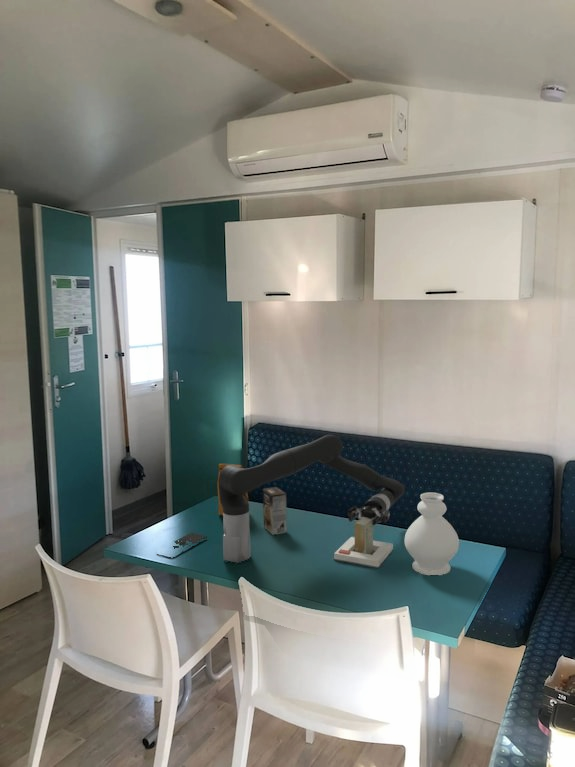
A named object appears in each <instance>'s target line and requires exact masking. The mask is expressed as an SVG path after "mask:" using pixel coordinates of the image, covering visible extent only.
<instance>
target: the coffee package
mask: <svg viewBox="0 0 575 767" xmlns="http://www.w3.org/2000/svg"><path fill="white" fill-rule="evenodd" d="M227 465H235V466H238V467H240V468H243V469H244V466H243V465H241V464H233V463H219V464H218V477H217V482H216V485H217V486H216V487H217V501H218V515H219V516H223V508H222V505H221V502H220V494H219V475H220V472H221V470H222V469H223V468H224V467H225V466H227ZM248 494H249V492H248V493H245V494H243V495H244V497H245V499H246V500H247V501H248V502H249V496H248Z"/></svg>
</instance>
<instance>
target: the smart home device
mask: <svg viewBox="0 0 575 767" xmlns="http://www.w3.org/2000/svg"><path fill="white" fill-rule="evenodd" d="M206 537H207V538H208V536H207V535H203V534H199V533H196V532H191V533H188V534H186V535H184V536H181V537H180V538H179V539H176V540H174V541H173V542H175V543H176V544H179V545H180V546H181V545H182V546H183V547H184V546H185V545H188V543H187V542H186V541H189V542H192V544H194V543H197V541H200V540H202V539H205V538H206ZM190 538H191V540H190ZM178 540H179V542H178ZM181 541H182V542H181ZM189 546H190V545H189ZM173 547H174V549H175V548H179V546H173Z"/></svg>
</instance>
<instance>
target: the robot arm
mask: <svg viewBox="0 0 575 767" xmlns="http://www.w3.org/2000/svg"><path fill="white" fill-rule="evenodd" d="M343 445H344V444H343V441H342V439H341V438H340V437H338V436H337V435H334V434H326V435H324V436H322V437H320V438H318V439H316V440H314V441H310V442H309V443H305V444H302V445H298V446H295V447H292V448H288V449H284V450H281V451H279V452H275V453H273V454H271V455H270V456H269V457H268V458H267V459H266V460H265V461H264V462H263V463H261V464H259V465H256V466H252V467H249V468H244V467H243V468H240V467H238V466H235V465H236V464H233V465H227V466H225V467H224V468H223V469H222V470H221V472H220V475H219V494H220V502H221V505H222V508H223V515H222V522H223V524H222V526H223V535H222V550H223V551H222V552H223V561H224V560H228V561H233V562H238V563H239V562H240V561H244V560H247V559H249V558H250V557H252V552H251V530H250V527H251V526H250V524H251V523H250V503H249V500H248V501H247V500H246V499H245V497H244V495H243V494H245V493H248V494H249V493H250V492H252V491H254V490H255V489H257V488H260V487H261V486H263V485H265V484H268V483H271V482H274V481H276V480H280V479H283V478H286V477H288V476H291V475H294V474H296V473H298V472H300V471H303V470H304V469H306V468H307V467H309V466H310V465H312V464H314V463H316V462H319V463H321V464H322V465H324V466H327V467H329V468H331V469H333V470H336V472H337V471H338V472H340V473H343V474H344V475H345V476H348V477H350V478H352V479H353V480H354V481H357V483H358V482H359V483H360V484H361V485H362V486H364V487H366V488H367V489H368V490H370V491H372V492H375V491H378V490H379V489H381V490H379V491H378V492H377V493H376V494H375V495H372V496H371V497H370V498H369V499H368V500H367V501H366V502H365V503H364V505H363V506H362V507H359V508H358V506H357V505H353V506H352V507H350V508H348V509H347V517H348V521H349V522H351V523H352V522H353V521H354V520H355V519H358V520H359V519H361V518H367V519H372V525H373V526H375V525H377V524H378V523H381V522H382V523H384V524H385V523H387V522H388V520H389V519H390V516H391V515H390V514H391V513H390V512H391V511H390V510H389V509H391V507H392V506H394V505H395V503H396V502H397V501H398V500H399V499H400V498H401V497H403V495H404V493H405V487H404V485H403V484H402V483H401V482H400V481H398V480H396V479H394V478H390V477H387V476H385V475H381V474H379V473H378V472H377V471H375V470H373V469H372V468H370V467H369V466H368V465H365V464H363V463H359V462H356V461H352V460H349V459H347V458H344V457H343V456H341V455H340V454H341V453H342V451H343V447H344V446H343ZM250 559H251V558H250ZM250 559H249V560H250ZM228 561H227V562H228ZM247 561H248V560H247ZM244 562H245V561H244ZM240 563H241V562H240ZM240 563H239V564H240Z"/></svg>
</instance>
